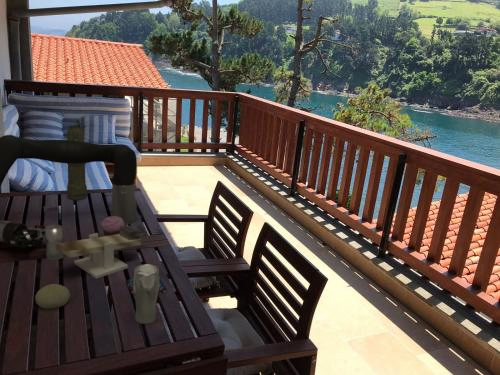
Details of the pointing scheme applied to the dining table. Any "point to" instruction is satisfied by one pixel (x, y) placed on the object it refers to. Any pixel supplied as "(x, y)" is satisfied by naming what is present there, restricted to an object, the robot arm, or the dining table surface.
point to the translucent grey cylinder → (53, 241)
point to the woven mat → (130, 286)
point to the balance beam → (100, 243)
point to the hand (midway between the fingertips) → (50, 238)
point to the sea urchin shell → (52, 296)
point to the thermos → (76, 169)
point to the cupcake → (112, 225)
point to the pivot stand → (101, 261)
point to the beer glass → (146, 292)
